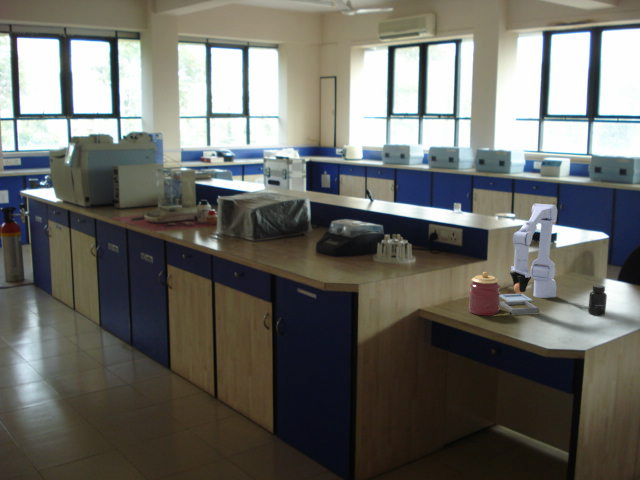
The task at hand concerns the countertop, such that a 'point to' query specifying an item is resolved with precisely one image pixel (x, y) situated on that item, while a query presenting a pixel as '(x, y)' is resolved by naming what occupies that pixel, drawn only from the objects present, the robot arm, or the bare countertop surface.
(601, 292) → the supplement bottle
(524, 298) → the dish
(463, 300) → the countertop surface
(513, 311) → the tray
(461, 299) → the countertop surface
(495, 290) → the canister
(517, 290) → the ball
